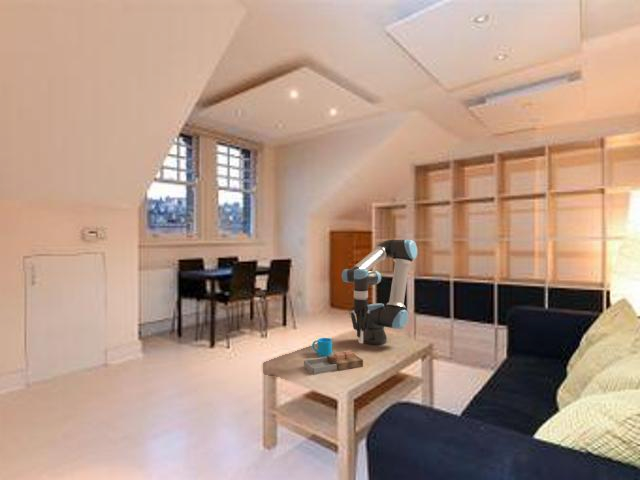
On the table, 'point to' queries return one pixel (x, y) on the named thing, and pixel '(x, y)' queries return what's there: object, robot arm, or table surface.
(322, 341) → the mug
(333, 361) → the brown square slab
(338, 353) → the tile
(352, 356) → the tile
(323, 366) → the tray
